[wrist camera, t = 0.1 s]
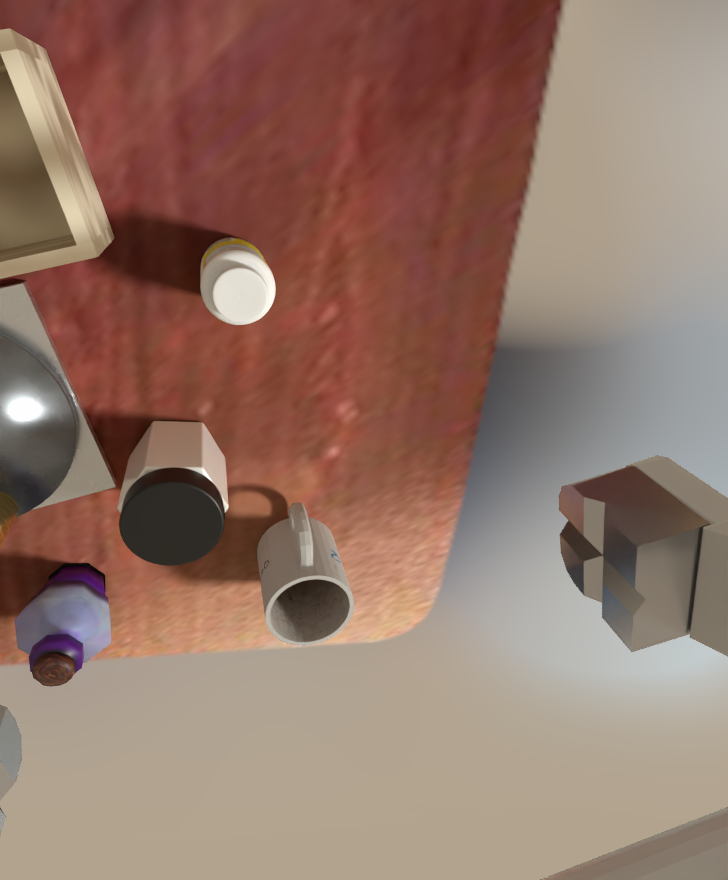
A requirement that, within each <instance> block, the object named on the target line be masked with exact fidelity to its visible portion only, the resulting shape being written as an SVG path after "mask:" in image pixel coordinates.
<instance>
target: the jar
mask: <svg viewBox="0 0 728 880" xmlns="http://www.w3.org/2000/svg"><path fill="white" fill-rule="evenodd" d="M228 507H229V506H228V492H227V477H226V463H225V457H224V455H223V454H222V452H221V451H220V449H219V447H218V446H217V444H216V443H215V441H214V439H213V438H212V436H211V434H210V433H209V431H208V430H207V428H206V426H205V425H204V423H202V422H176V421H153V422H152V423H151V425H150V426H149V428H148V429H147V431H146V432H145V434H144V435H143V437H142V438H141V440H140V441H139V443H138V444H137V446H136V447H135V449H134V450H133V452H132V453H131V455H130V456H129V459H128V464H127V468H126V472H125V477H124V481H123V485H122V490H121V494H120V498H119V502H118V507H117V509H118V511H119V512H120V513H121V515H120V520H119V528H120V533H121V536H122V539H123V541H124V543H125V544H126V546H127V547H128V548H129V549H130V550H131V551H132V552H133V553H134V554H135V555H137V556H138V557H140V558H142V559H144V560H146V561H148V562H151V563H154V564H159V565H166V566H174V565H182V564H187V563H190V562H193V561H196V560H198V559H200V558H202V557H203V556H205V555H206V554H208V553H209V552H210V551H211V550H212V549H213V548H214V547H215V546H216V545H217V543H218V542H219V540H220V538H221V536H222V533H223V529H224V520H225V512H226V511H227V509H228Z"/></svg>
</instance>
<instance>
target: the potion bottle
mask: <svg viewBox="0 0 728 880" xmlns="http://www.w3.org/2000/svg"><path fill="white" fill-rule="evenodd" d="M15 628H16V636H17V645H18V648H19V649H20V650H22V651H24V652H26V653H27V654H29V662H30V671H31V672H32V674H33V678H34V679H36V680H37V681H39V682H40V683H41V684H42V685H45V686H59V685H61V684H64V683H66V682H68V681H69V680H70V679H71V678H72V676H73V675H74V673H76V672H77V671H78V670H79V669H81V668H82V664H83V663H86V662H87V661H88V660H90V659H91V658H92V657H93V656H95V655H96V654H97V653H98V652H100V651H101V650H102V649H104V648H105V647H106V646H107V645H109V644H110V643H111V627H110V611H109V603H108V597H106V596H105V575H104V574H103V573H101V572H100V571H99V570H97V569H96V568H94V567H93V566H91V565H90V564H89V563H74V564H64V565H63V566H61V567H60V568H59V569H58V570H56V571H55V572H54V573H53V574H51V575H50V576H49V581H48V583H47V584H46V585H45V587H44V588H43V589H42V590H41V592H40V593H38V594H37V595H36V596H34V597H33V598H32V599H31V600H30V601H29V603H28V604H27V605H26V606H25V608H24V609H23V610H22V611H21V613H20V614H19V615H18V617H17V618H16V619H15Z"/></svg>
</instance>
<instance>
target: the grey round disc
mask: <svg viewBox="0 0 728 880" xmlns="http://www.w3.org/2000/svg"><path fill="white" fill-rule="evenodd" d="M77 441H78V426H77V419H76V414H75V410H74V407H73V404H72V402H71V399H70V396H69V395H68V393H67V391H66V389H65V387H64V385H63V384H62V382H61V381H60V379H59V378H58V377H57V375H56V374H55V373H54V371H53V370H52V369H51V368H50V367H49V366H48V365H47V364H46V363H45V362H44V360H43V359H41V358H40V357H39V356H38V355H37V354H36V353H34V352H33V351H32V350H31V349H30V348H28V347H27V346H25V345H24V344H22V343H21V342H19V341H18V340H16V339H15V338H13V337H11V336H9V335H7V334H5V333H3V332H2V331H0V549H1V547H2V545H3V543H4V541H5V539H6V537H7V535H8V533H9V531H10V529H11V527H12V525H13V522H14V520H15V518H16V517H17V516H20V515H22V514H24V513H26V512H28V511H30V510H32V509H33V508H35V507H37V506H38V505H40V504H41V503H43V502H44V501H45V500H46V499H47V498H49V497H50V496H51V495H52V494H53V493H54V492H55V491H56V489H57V488H58V487H59V486H60V485H61V483H62V482H63V480H64V479H65V477H66V476H67V473H68V471H69V469H70V467H71V464H72V462H73V460H74V456H75V452H76V449H77Z"/></svg>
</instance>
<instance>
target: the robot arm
mask: <svg viewBox="0 0 728 880" xmlns="http://www.w3.org/2000/svg"><path fill="white" fill-rule="evenodd" d="M559 510H560V511H561V513H563V515H564V516H565V517H566V518H567V519H568V522H567V524H566V525H565V527H564V529H563V530H562V532H561V533H560V545H561V554H562V557H563V560H564V563H565V567H566V570H567V572H568V573H569V575H570V577H571V579H572V580H573V582H574V584H575V585H576V586H577V587H578V588H579V590H580V591H581V592H582V593H583V595H584V596H587V597H589V598H592V599H594V600H597V601H599V602H602V618H603V619H604V620H605V621H606V622H607V623H608V625H609V626H610V627H611V628H612V630H613V631H614V632H615V633H616V634H617V635H618V637H619V638H620V639H621V640H622V641H623V643H624V644H625V645H626V646H627V647H628V648H629V650H631V652H634V651H637V650H640V649H643V648H647V647H650V646H653V645H656V644H659V643H663V642H666V641H669V640H672V639H676V638H678V637H682V636H685V635H688V634H690V638H692V639H694V640H696V641H698V642H700V643H702V644H704V645H706V646H708V647H711V648H712V649H714V650H716V651H718V652H720V653H722V654H724V655H726V656H728V498H727V497H725V496H724V495H722V494H721V493H719V492H718V491H716V490H715V489H713V488H712V487H710V486H709V485H708V484H706V483H705V482H703V481H702V480H700V479H699V478H697V477H696V476H694V475H693V474H691V473H690V472H688V471H687V470H685V469H684V468H682V467H681V466H679V465H678V464H677V463H675V462H674V461H672V460H671V459H669V458H667V457H663V456H654V457H651V458H648V459H645V460H642V461H639V462H636V463H633V464H630V465H627V466H626V467H624V468H620V469H617V470H614V471H610V472H607V473H604V474H601V475H597V476H594V477H591V478H588V479H584V480H582V481H578V482H575V483H571V484H568V485H565V486H562V488H561V492H560V494H559ZM21 751H22V749H21V734H20V731H19V728H18V726H17V723H16V720H15V718H14V717H13V715H12V714H11V712H10V711H9V710H8V708H7V707H5V706H2V705H0V800H1V799H2V798H3V797H4V795H5V794H6V793H7V792H8V791H9V789H10V788H11V787H12V786H13V784H14V783H15V782H16V779H17V776H18V772H19V768H20V764H21V761H22V753H21ZM5 817H6V816H5V814H4V813H3V811H2V809H1V808H0V834H1V831H2V827H3V824H4V821H5ZM540 880H728V807H726V808H724V809H721V810H719V811H716V812H714V813H711V814H709V815H706V816H703V817H701V818H698V819H696V820H693V821H690V822H688V823H685V824H683V825H680V826H677V827H675V828H672V829H670V830H667V831H664V832H662V833H659V834H657V835H654V836H652V837H649V838H646V839H644V840H641V841H639V842H636V843H634V844H631V845H628V846H626V847H623V848H621V849H618V850H615V851H613V852H610V853H608V854H605V855H602V856H600V857H597V858H595V859H592V860H590V861H587V862H584V863H582V864H580V865H577V866H574V867H571V868H569V869H566V870H564V871H561V872H559V873H556V874H553V875H551V876H548V877H546V878H543V879H540Z"/></svg>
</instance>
